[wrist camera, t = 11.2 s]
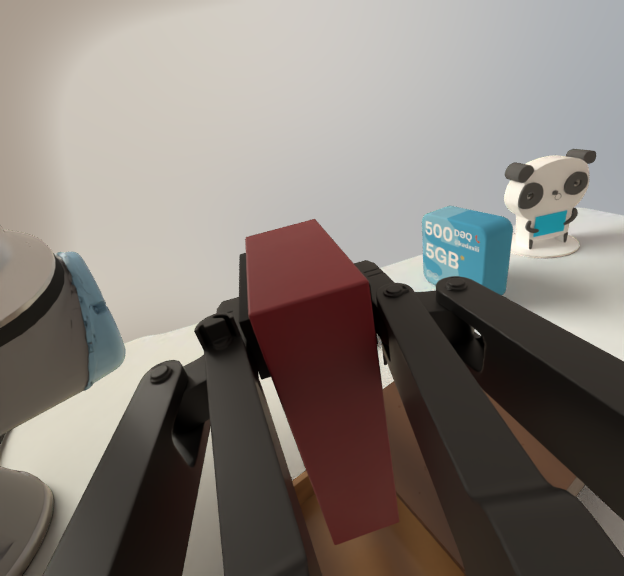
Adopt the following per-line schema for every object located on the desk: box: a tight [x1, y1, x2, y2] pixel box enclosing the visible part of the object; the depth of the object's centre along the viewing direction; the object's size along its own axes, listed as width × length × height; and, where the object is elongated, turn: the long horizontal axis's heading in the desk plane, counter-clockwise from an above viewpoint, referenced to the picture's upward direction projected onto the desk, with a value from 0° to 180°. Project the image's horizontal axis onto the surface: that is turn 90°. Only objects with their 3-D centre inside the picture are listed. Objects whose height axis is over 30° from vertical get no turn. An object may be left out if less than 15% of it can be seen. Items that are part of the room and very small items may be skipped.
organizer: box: [383, 382, 585, 575], centre depth 25 cm, size 15×13×5 cm
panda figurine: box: [504, 149, 596, 258], centre depth 51 cm, size 12×11×15 cm
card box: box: [245, 219, 399, 545], centre depth 14 cm, size 6×3×13 cm, turn 12°
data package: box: [422, 206, 513, 295], centre depth 45 cm, size 12×4×12 cm, turn 22°
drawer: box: [292, 471, 466, 576], centre depth 21 cm, size 17×13×5 cm
